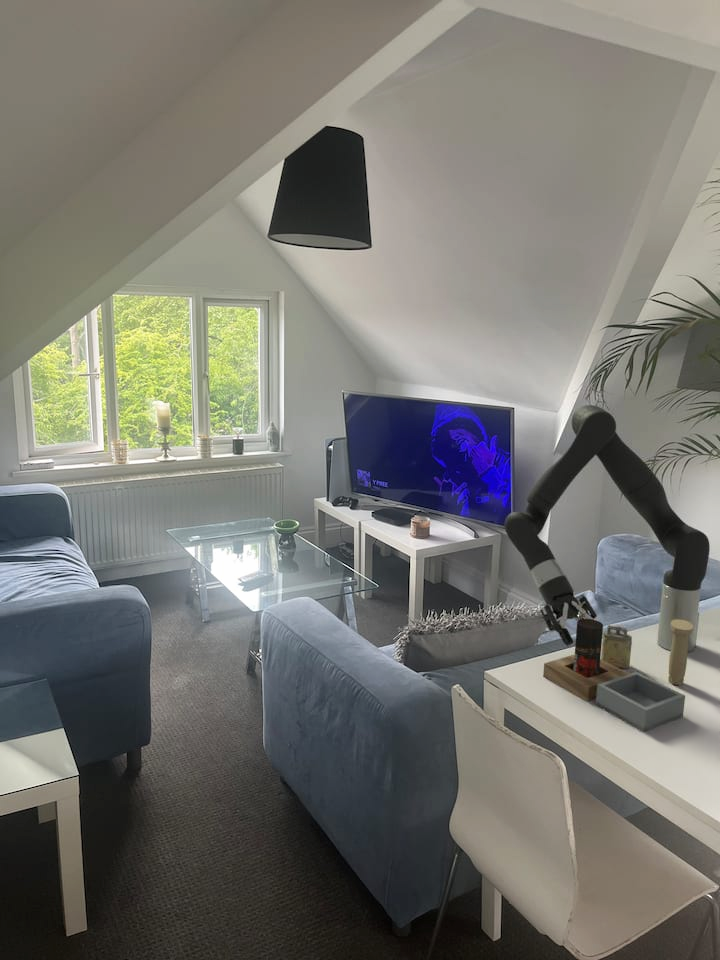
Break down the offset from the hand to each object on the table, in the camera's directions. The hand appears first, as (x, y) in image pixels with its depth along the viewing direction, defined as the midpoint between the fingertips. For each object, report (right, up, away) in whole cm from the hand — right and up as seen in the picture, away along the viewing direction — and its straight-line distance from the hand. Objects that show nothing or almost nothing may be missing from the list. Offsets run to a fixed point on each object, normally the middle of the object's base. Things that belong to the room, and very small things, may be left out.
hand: (583, 640), depth 173 cm
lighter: (+11, -9, +10) cm, 17 cm away
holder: (+1, -10, +1) cm, 10 cm away
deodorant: (+1, -10, +1) cm, 10 cm away
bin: (+9, -13, -13) cm, 20 cm away
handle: (+23, -11, +1) cm, 25 cm away
